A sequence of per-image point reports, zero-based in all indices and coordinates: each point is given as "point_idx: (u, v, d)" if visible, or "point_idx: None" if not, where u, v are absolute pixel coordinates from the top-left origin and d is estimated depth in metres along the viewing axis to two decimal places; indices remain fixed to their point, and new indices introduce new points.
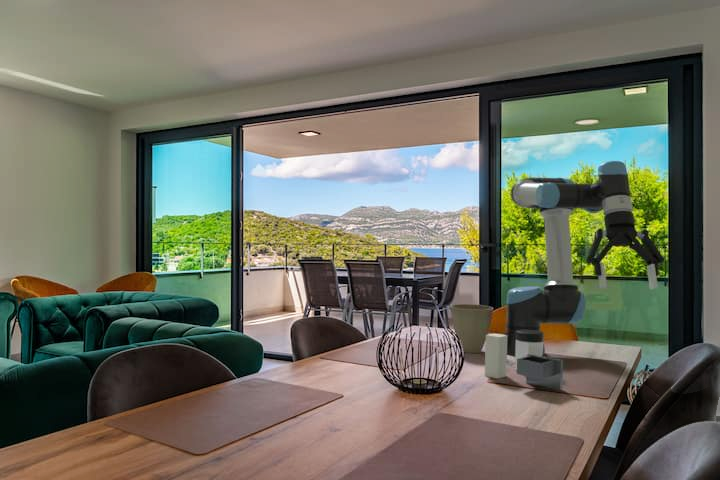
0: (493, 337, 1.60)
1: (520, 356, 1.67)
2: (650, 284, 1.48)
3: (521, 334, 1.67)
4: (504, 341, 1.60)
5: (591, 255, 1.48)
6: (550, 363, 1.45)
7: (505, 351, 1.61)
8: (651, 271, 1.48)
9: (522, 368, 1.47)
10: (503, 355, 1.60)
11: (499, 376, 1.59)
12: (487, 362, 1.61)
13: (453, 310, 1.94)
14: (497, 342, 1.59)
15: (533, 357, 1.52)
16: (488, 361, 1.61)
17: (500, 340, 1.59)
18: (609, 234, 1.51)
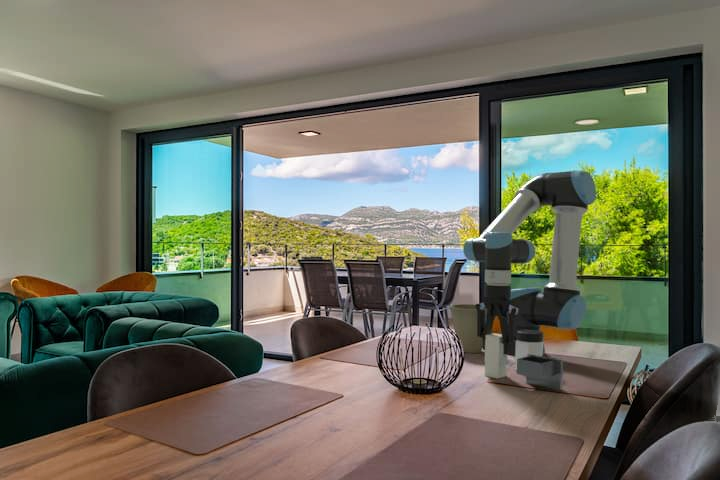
0: (493, 337, 1.60)
1: (520, 356, 1.67)
2: None
3: (521, 334, 1.67)
4: None
5: (477, 332, 1.65)
6: (550, 363, 1.45)
7: None
8: None
9: (522, 368, 1.47)
10: None
11: (499, 376, 1.59)
12: (487, 362, 1.61)
13: (453, 310, 1.94)
14: (497, 342, 1.59)
15: (533, 357, 1.52)
16: (488, 361, 1.61)
17: (500, 340, 1.59)
18: (485, 305, 1.63)
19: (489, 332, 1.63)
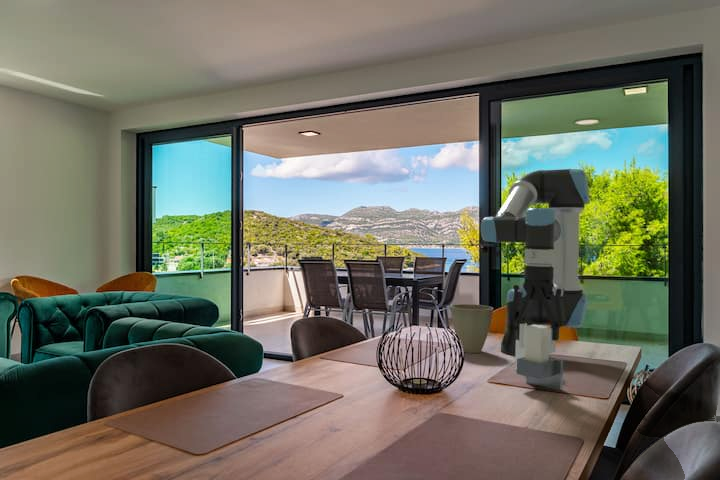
0: (534, 328, 1.46)
1: (520, 356, 1.67)
2: None
3: None
4: (546, 333, 1.47)
5: (511, 315, 1.52)
6: (550, 363, 1.45)
7: (547, 344, 1.47)
8: None
9: (522, 368, 1.47)
10: (545, 348, 1.46)
11: None
12: (527, 356, 1.47)
13: (453, 310, 1.94)
14: (538, 334, 1.45)
15: None
16: (528, 354, 1.47)
17: (542, 331, 1.45)
18: (524, 288, 1.50)
19: (525, 316, 1.51)
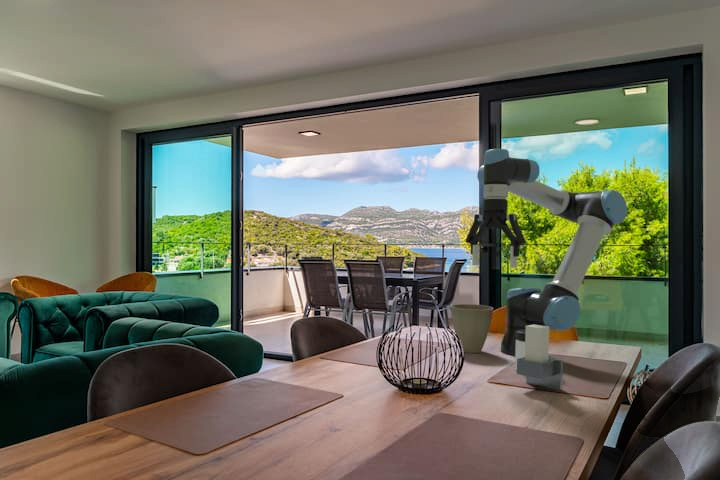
0: (534, 328, 1.46)
1: (520, 356, 1.67)
2: None
3: (521, 334, 1.67)
4: (546, 333, 1.47)
5: (467, 238, 1.78)
6: (550, 363, 1.45)
7: (547, 344, 1.47)
8: None
9: (522, 368, 1.47)
10: (545, 348, 1.46)
11: None
12: (527, 356, 1.47)
13: (453, 310, 1.94)
14: (538, 334, 1.45)
15: None
16: (528, 354, 1.47)
17: (542, 331, 1.45)
18: (483, 219, 1.74)
19: (478, 240, 1.77)
